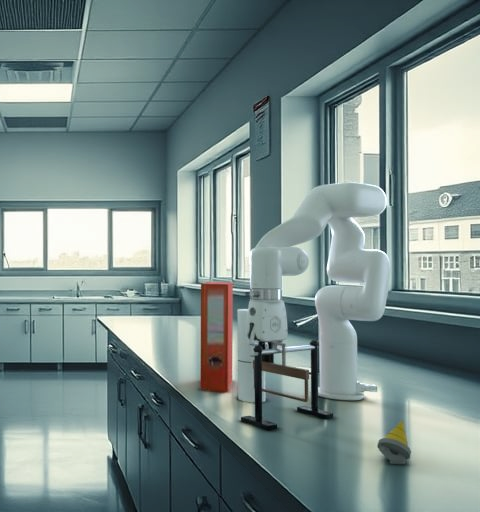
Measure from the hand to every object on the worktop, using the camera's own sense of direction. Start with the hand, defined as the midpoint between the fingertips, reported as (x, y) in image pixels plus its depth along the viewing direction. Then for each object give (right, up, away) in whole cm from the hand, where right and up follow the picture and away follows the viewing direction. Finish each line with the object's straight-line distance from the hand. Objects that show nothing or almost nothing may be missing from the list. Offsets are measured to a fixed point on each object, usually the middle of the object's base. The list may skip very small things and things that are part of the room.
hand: (266, 368), depth 139 cm
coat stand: (+3, -12, -5) cm, 13 cm away
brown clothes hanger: (0, -5, -7) cm, 8 cm away
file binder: (-1, -12, +32) cm, 35 cm away
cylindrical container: (+2, -12, +15) cm, 19 cm away
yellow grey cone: (+11, -11, -32) cm, 36 cm away
